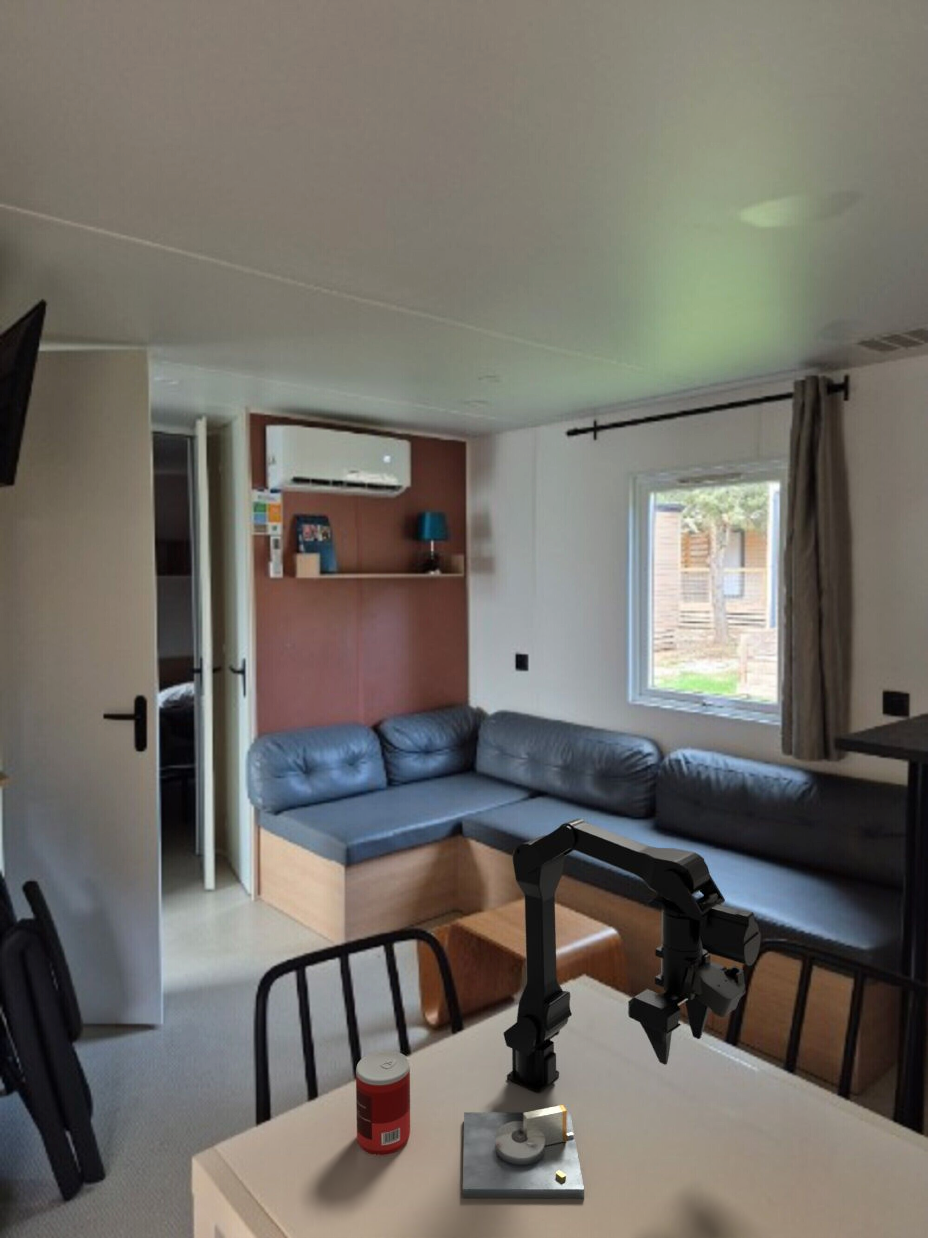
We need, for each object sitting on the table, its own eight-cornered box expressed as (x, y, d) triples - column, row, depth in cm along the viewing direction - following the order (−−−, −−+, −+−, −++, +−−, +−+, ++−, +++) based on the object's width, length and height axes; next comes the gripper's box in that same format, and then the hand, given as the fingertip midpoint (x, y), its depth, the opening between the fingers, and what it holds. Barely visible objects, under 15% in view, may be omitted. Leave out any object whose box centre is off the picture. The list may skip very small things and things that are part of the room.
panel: (462, 1198, 108) (462, 1185, 108) (464, 1120, 124) (464, 1108, 124) (584, 1198, 108) (584, 1185, 108) (570, 1120, 124) (570, 1108, 124)
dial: (505, 1169, 111) (504, 1137, 111) (488, 1137, 118) (488, 1106, 118) (574, 1154, 114) (574, 1122, 114) (555, 1123, 121) (554, 1093, 121)
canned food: (419, 1129, 122) (418, 1057, 121) (392, 1163, 115) (392, 1086, 114) (375, 1116, 125) (374, 1045, 125) (346, 1148, 118) (345, 1073, 117)
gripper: (700, 985, 104) (698, 1104, 105) (765, 941, 117) (764, 1047, 118) (626, 957, 112) (625, 1068, 113) (695, 918, 125) (694, 1018, 126)
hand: (680, 1050), depth 117 cm, fingers open, 9 cm apart
